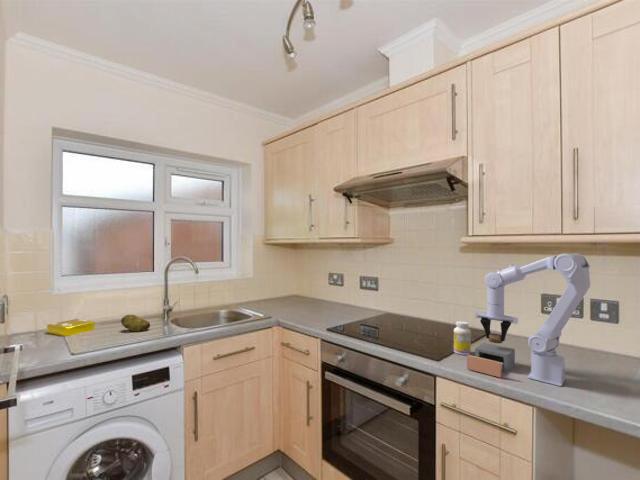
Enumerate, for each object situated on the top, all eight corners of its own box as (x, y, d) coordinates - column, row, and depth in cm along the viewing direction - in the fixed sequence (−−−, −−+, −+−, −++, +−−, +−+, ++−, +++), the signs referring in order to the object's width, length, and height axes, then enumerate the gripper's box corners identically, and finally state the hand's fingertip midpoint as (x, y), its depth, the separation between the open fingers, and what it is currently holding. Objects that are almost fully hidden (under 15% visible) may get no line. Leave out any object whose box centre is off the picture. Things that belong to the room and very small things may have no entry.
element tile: (96, 329, 170) (96, 320, 170) (64, 337, 156) (64, 327, 156) (77, 326, 175) (77, 317, 175) (44, 333, 161) (45, 323, 161)
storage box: (514, 364, 125) (514, 349, 125) (507, 371, 118) (507, 355, 118) (483, 357, 133) (484, 342, 133) (475, 363, 126) (475, 348, 126)
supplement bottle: (456, 349, 143) (456, 319, 143) (472, 352, 139) (472, 322, 139) (451, 353, 138) (451, 322, 138) (468, 356, 134) (468, 325, 134)
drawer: (508, 369, 119) (508, 356, 119) (500, 377, 112) (500, 363, 112) (476, 361, 127) (476, 349, 127) (467, 368, 120) (467, 355, 120)
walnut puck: (503, 341, 126) (503, 334, 126) (500, 344, 123) (500, 337, 123) (491, 339, 129) (491, 332, 129) (487, 341, 126) (487, 334, 126)
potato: (140, 333, 162) (140, 317, 162) (117, 331, 165) (118, 315, 165) (152, 329, 170) (152, 313, 171) (130, 327, 173) (130, 312, 173)
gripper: (519, 304, 124) (519, 341, 124) (479, 300, 134) (479, 333, 134) (514, 307, 119) (514, 345, 119) (473, 302, 129) (473, 337, 129)
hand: (495, 339), depth 126 cm, fingers closed on walnut puck, 5 cm apart
